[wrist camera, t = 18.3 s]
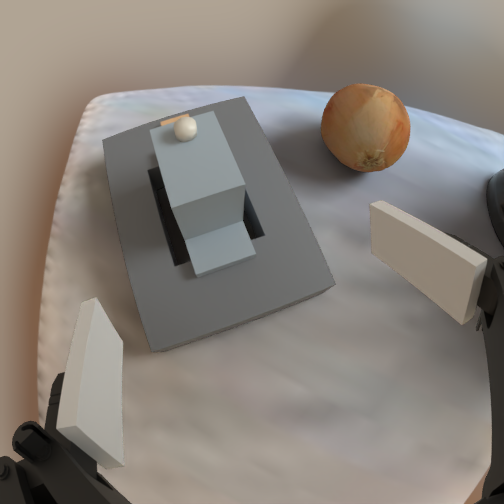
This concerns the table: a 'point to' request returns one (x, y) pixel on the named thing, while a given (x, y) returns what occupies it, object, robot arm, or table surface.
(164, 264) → the pocket block
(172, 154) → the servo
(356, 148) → the onion
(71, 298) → the table surface
